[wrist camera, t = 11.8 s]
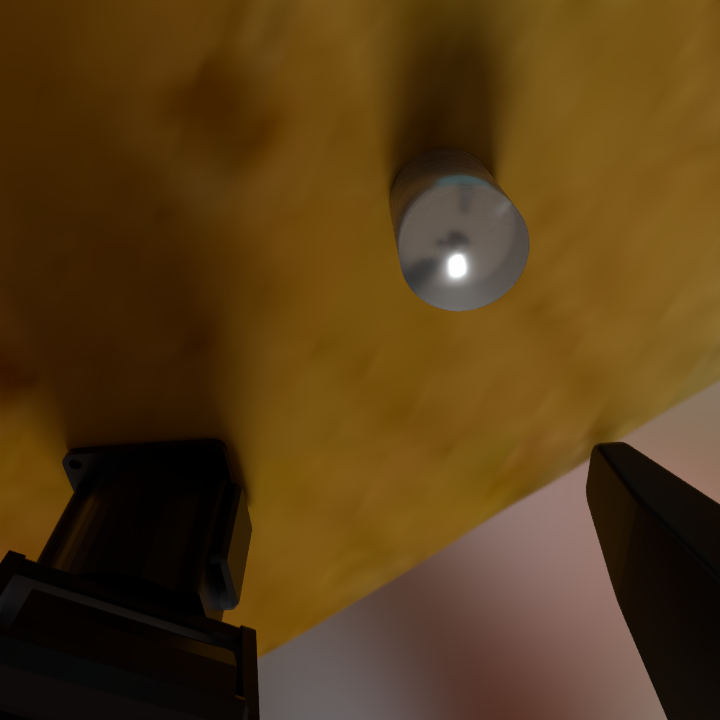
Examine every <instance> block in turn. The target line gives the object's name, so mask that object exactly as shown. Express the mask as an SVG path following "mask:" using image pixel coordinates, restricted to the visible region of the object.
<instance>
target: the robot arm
mask: <svg viewBox="0 0 720 720" xmlns="http://www.w3.org/2000/svg"><path fill="white" fill-rule="evenodd" d="M209 450H215V451H216V452H217V453H211V452H209ZM74 460H78V461H80V462H81V463H78V462H76V461H74ZM62 462H63V467H64V469H65V471H66V474H67V476H68V478H69V481H70V483H71V486H72V488H73V490H74V493H73V495H72V497H71V499H70V501H69V502H68V504H67V506H66V508H65V510H64V512H63V514H62V515H61V517H60V519H59V521H58V523H57V525H56V526H55V528H54V530H53V532H52V534H51V536H50V538H49V539H48V541H47V543H46V545H45V547H44V549H43V551H42V552H41V554H40V556H39V558H38V560H37V562H35V561H32V560H29V559H25V557H26V555H23V554H20V553H17V552H14V551H11V550H9V551H8V553H7V554H6V556H5V557H4V559H3V560H2V562H1V563H0V720H259V718H260V716H259V692H258V669H257V643H256V630H255V629H252V628H249V627H245V626H242V625H241V626H240V627H236V626H233V625H230V624H227V623H224V622H222V617H223V612H224V610H232V609H234V608H235V607H236V606H237V605H238V604H239V601H240V595H241V589H242V584H243V578H244V572H245V566H246V561H247V555H248V550H249V544H250V538H251V532H252V525H251V521H250V516H249V512H248V508H247V503H246V499H245V495H244V490H243V487H242V486H241V485H240V484H239V483H235V482H234V478H233V473H232V469H231V465H230V461H229V457H228V452H227V448H226V446H225V444H224V443H223V442H222V441H220V440H217V439H200V440H186V441H172V442H158V443H144V444H130V445H115V446H101V447H87V448H75V449H71V450H69V451H68V452H67V454H66V455H65V457H64V459H63V461H62ZM586 496H587V502H588V505H589V509H590V512H591V516H592V519H593V522H594V526H595V529H596V532H597V536H598V539H599V543H600V545H601V549H602V552H603V556H604V559H605V563H606V566H607V569H608V573H609V576H610V579H611V583H612V586H613V589H614V592H615V595H616V598H617V601H618V604H619V606H620V609H621V611H622V614H623V616H624V619H625V621H626V623H627V626H628V628H629V630H630V633H631V635H632V637H633V640H634V642H635V644H636V647H637V649H638V651H639V654H640V656H641V658H642V661H643V663H644V665H645V668H646V670H647V672H648V675H649V677H650V679H651V682H652V684H653V687H654V689H655V691H656V694H657V696H658V698H659V701H660V703H661V705H662V708H663V710H664V712H665V715H666V717H667V719H668V720H720V504H719V503H717V502H716V501H714V500H712V499H711V498H709V497H708V496H706V495H705V494H703V493H702V492H700V491H699V490H697V489H696V488H694V487H693V486H691V485H690V484H688V483H686V482H685V481H683V480H682V479H680V478H679V477H677V476H676V475H674V474H673V473H671V472H670V471H668V470H666V469H665V468H663V467H662V466H661V465H659V464H657V463H656V462H654V461H653V460H651V459H649V458H648V457H647V456H645V455H644V454H642V453H640V452H639V451H638V450H636V449H634V448H633V447H632V446H630V445H628V444H626V443H624V442H609V443H598V444H596V445H595V446H594V447H593V449H592V452H591V458H590V465H589V471H588V478H587V484H586Z"/></svg>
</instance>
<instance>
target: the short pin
mask: <svg viewBox="0 0 720 720" xmlns="http://www.w3.org/2000/svg"><path fill="white" fill-rule="evenodd" d="M390 213H391V218H392V223H393V228H394V234H395V239H396V244H397V249H398V255H399V260H400V265H401V269H402V273H403V275H404V278H405V280H406V282H407V284H408V285H409V287H410V288H411V289H412V291H413V292H414V293H415V294H416V295H417V296H418V297H419V298H421V299H422V300H424V301H425V302H427V303H429V304H431V305H432V306H435V307H438V308H441V309H445V310H452V311H465V310H472V309H476V308H480V307H483V306H485V305H488V304H490V303H492V302H494V301H495V300H497V299H498V298H500V297H501V296H503V295H504V294H505V293H506V292H507V291H508V290H509V289H510V288H511V287H512V286H513V285H514V284H515V283H516V281H517V280H518V279H519V277H520V275H521V273H522V272H523V269H524V267H525V265H526V262H527V258H528V253H529V235H528V230H527V227H526V224H525V222H524V219H523V217H522V216H521V214H520V213H519V211H518V210H517V208H516V207H515V206H514V204H513V203H512V202H511V201H510V199H509V198H508V197H507V195H506V194H505V193H504V191H503V190H502V189H501V187H500V186H499V185H498V183H497V182H496V181H495V180H494V178H493V177H492V176H491V174H490V173H489V172H488V170H487V169H486V168H485V166H484V165H483V164H482V163H481V162H480V161H479V160H478V159H477V158H475V157H474V156H472V155H471V154H469V153H467V152H464V151H462V150H458V149H453V148H439V149H433V150H430V151H427V152H424V153H422V154H420V155H418V156H417V157H415V158H414V159H412V160H411V161H410V162H408V163H407V164H406V165H405V166H404V168H403V169H402V170H401V171H400V173H399V174H398V176H397V178H396V179H395V182H394V184H393V187H392V190H391V195H390Z"/></svg>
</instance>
